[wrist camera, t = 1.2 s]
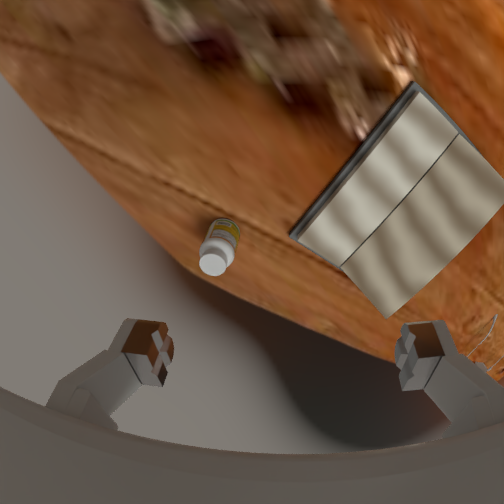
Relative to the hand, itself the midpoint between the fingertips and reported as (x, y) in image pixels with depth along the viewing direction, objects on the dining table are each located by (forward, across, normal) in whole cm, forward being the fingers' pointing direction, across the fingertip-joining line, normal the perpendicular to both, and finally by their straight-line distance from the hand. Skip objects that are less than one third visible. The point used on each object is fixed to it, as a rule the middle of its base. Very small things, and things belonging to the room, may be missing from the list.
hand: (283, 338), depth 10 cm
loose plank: (+34, -22, +14) cm, 43 cm away
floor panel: (+38, -19, +12) cm, 45 cm away
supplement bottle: (+39, +11, +17) cm, 44 cm away
